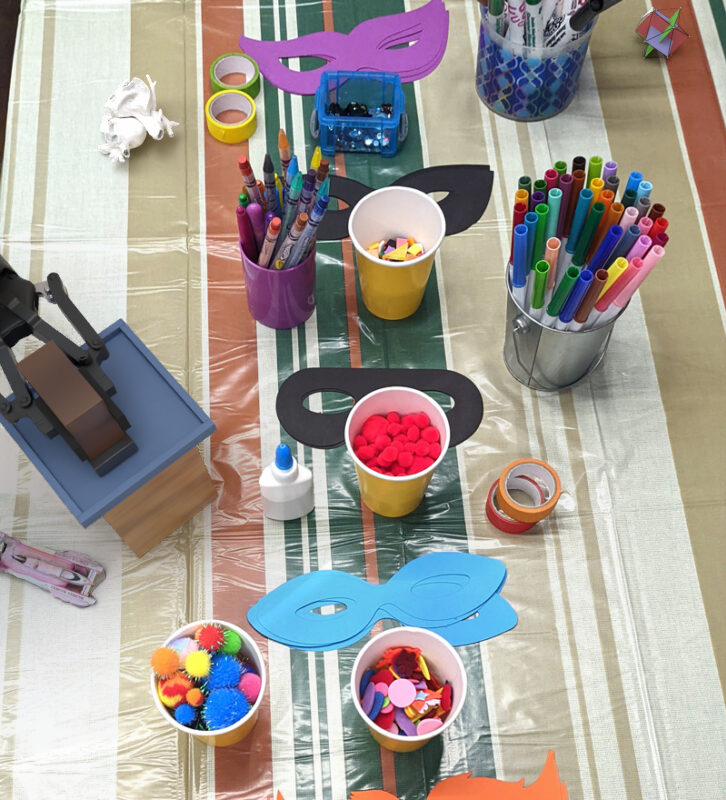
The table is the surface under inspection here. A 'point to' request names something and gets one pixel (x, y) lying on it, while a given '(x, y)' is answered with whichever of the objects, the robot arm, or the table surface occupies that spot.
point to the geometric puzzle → (661, 32)
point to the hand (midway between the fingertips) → (102, 438)
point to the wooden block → (163, 503)
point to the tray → (150, 430)
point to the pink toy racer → (52, 569)
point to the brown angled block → (77, 407)
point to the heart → (132, 119)
